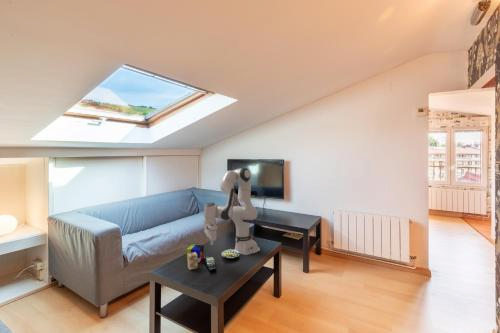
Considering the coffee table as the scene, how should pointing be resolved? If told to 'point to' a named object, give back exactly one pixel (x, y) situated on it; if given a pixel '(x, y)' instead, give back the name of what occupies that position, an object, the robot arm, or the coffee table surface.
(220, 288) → the coffee table surface
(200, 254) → the puzzle toy
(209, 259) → the sage cube
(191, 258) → the tower mid
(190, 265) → the tower base
